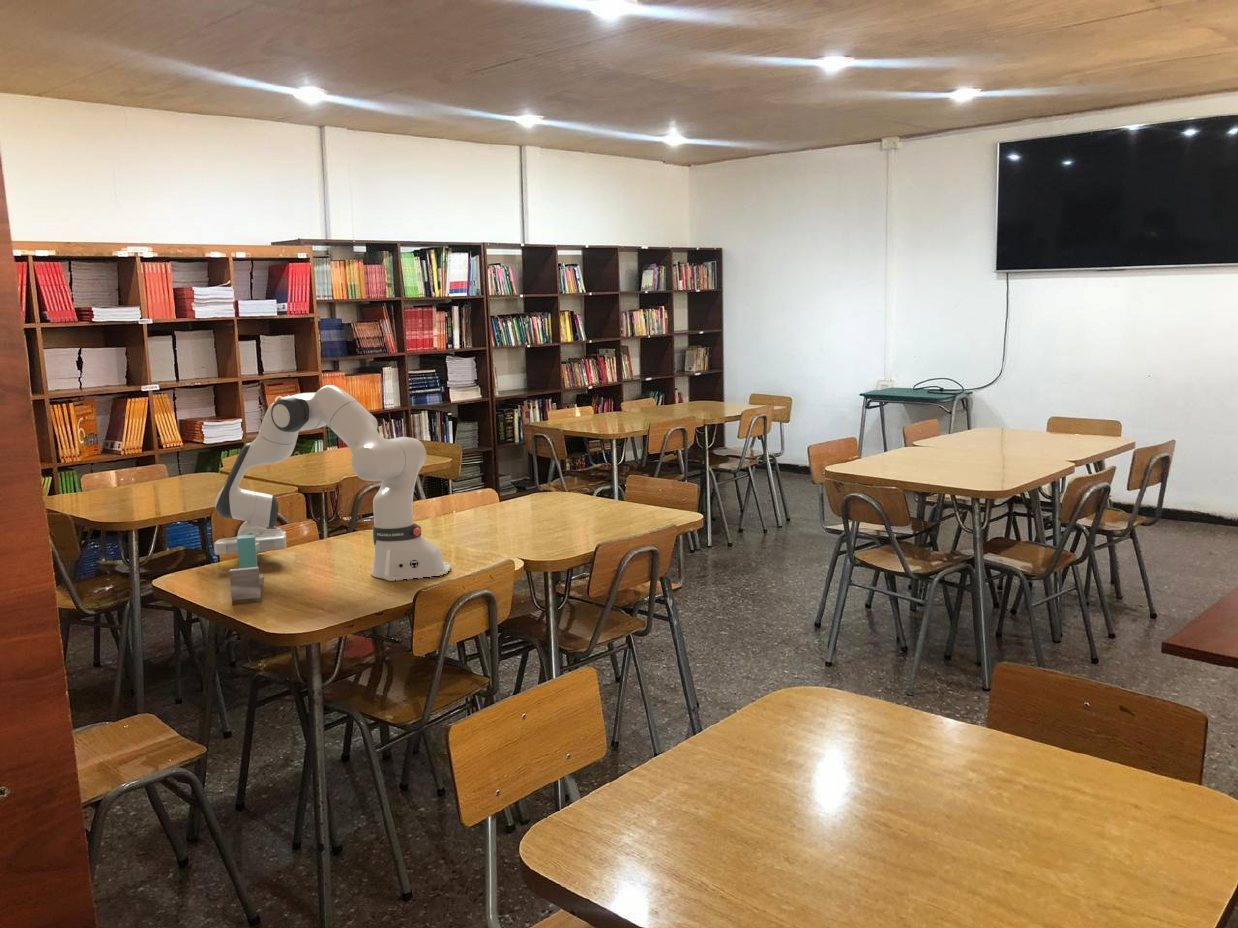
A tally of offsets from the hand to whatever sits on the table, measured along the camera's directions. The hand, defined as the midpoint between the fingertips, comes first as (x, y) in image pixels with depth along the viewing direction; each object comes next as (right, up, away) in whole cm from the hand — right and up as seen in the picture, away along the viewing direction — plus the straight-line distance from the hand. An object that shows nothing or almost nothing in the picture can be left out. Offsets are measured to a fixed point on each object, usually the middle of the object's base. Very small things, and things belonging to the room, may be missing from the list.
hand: (249, 549), depth 276 cm
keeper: (+4, -7, -10) cm, 13 cm away
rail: (+7, -10, -18) cm, 21 cm away
